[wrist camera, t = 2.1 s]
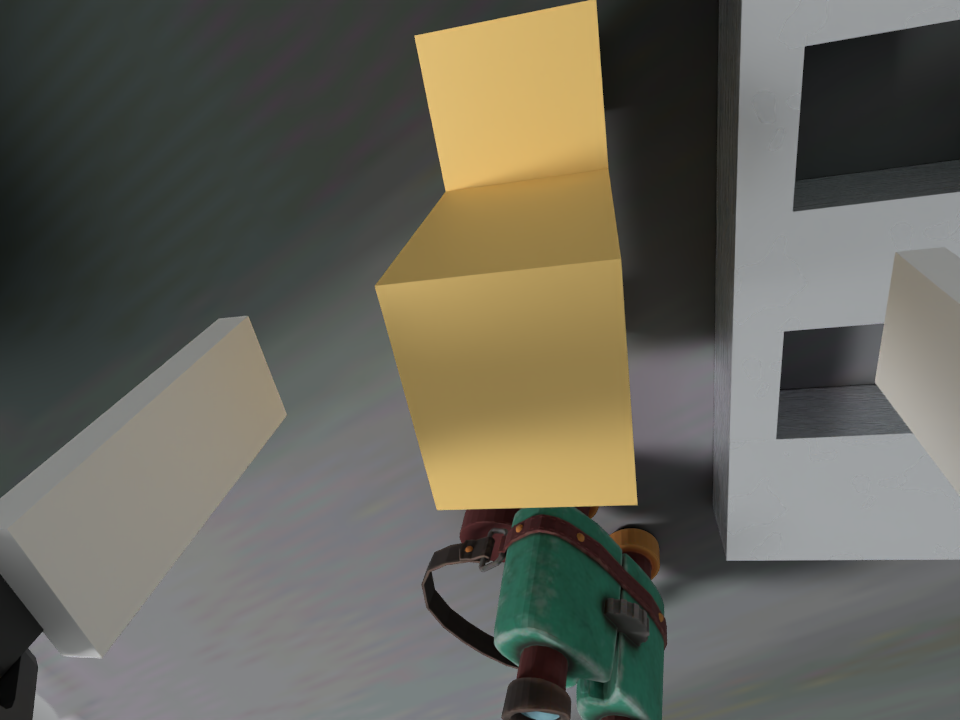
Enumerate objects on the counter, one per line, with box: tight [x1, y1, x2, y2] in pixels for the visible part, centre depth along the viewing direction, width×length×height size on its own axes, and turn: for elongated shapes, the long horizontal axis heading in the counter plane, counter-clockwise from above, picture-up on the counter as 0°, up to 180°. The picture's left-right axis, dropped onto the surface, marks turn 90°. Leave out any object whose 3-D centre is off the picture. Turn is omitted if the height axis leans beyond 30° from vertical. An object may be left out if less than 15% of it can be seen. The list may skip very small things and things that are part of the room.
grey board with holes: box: [713, 0, 960, 561], centre depth 19 cm, size 9×24×3 cm, turn 10°
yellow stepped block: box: [375, 0, 638, 510], centre depth 16 cm, size 12×4×12 cm, turn 10°
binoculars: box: [422, 506, 667, 720], centre depth 25 cm, size 9×11×10 cm
